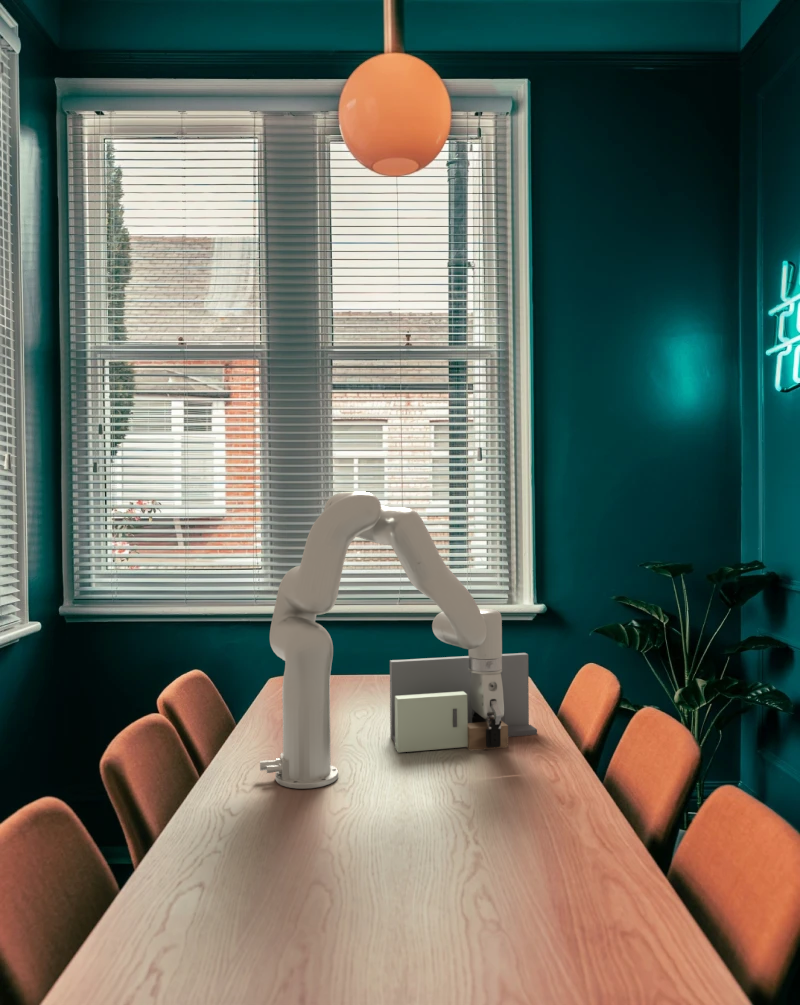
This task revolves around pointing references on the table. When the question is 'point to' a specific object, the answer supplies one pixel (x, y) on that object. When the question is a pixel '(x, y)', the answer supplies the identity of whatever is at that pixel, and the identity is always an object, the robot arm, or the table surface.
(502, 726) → the walnut block
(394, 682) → the grey upright panel
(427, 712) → the door
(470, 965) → the table surface
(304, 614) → the robot arm
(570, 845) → the table surface
